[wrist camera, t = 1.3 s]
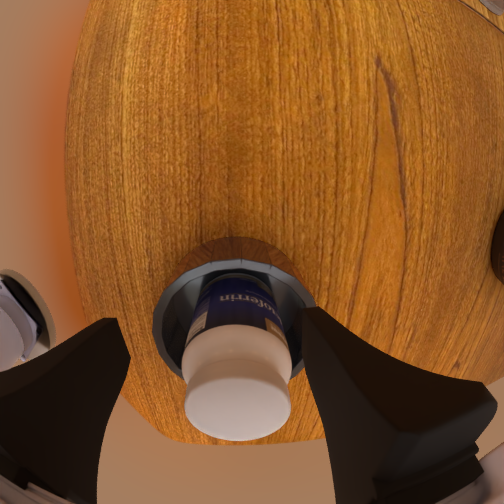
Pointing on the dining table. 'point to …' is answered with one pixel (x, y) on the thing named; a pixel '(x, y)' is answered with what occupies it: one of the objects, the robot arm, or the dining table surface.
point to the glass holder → (494, 6)
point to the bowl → (219, 263)
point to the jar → (498, 250)
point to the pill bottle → (236, 361)
